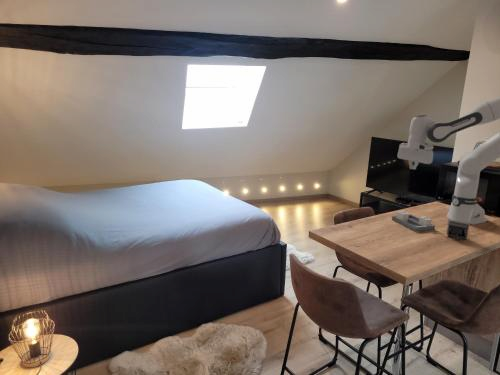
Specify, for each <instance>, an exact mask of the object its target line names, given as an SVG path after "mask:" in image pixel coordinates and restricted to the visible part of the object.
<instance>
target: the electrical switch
mask: <svg viewBox="0 0 500 375" xmlns="http://www.w3.org/2000/svg"><path fill="white" fill-rule="evenodd" d="M470 225H471V224H469V223H466V222H461V221H455V220H450V219H449V220H448V222H447V228H446V234H445V235H446V236H447V238H451V239H454V240H455V239H456V240H461V241H466V240H467V239H468V233H469V231H470V230H469V229H470Z"/></svg>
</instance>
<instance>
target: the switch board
mask: <svg viewBox="0 0 500 375" xmlns="http://www.w3.org/2000/svg"><path fill="white" fill-rule="evenodd" d="M408 214H409V217H408V221H407V222H405V221H403V220H401V219H399V218H397V214H396V215H392V216H391V220H392V221H393V222H395V223H397V224H399V225H400V226H403V227H404V228H406V229H409V230H410V231H413V232H414V233H417V232H426V231H435V228H436V225H435V224H432V223H431V225H428V226H424V225H422V224H420V223H419V217H417V216H416V215H413V214H411V213H408Z"/></svg>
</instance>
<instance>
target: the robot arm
mask: <svg viewBox="0 0 500 375" xmlns="http://www.w3.org/2000/svg"><path fill="white" fill-rule="evenodd" d="M497 120H500V96H498V97H495V98H492V99H488V100H485V101H483V102H480V103H478V104H477V105H474V106H473V107H471V108H470V110H469V111H468V113H466V114H465V115H462V116H461V117H458V118H456V119H453V120H451V121H449V122H440V121H436V120H434V119H433V118H431V117H429V115H427V114H423V115H420V114H419V115H415V116H413V118H412V119H411V122H410V126H409V136H408V139H407V140H408V141H407V142H406V143H405V142H402V143H400V144H399V146H398V152H397V158H398V159H400V160H405V161H408V166H409V169H410V170H416V169H417V167H418V165H419V163H420V164H421V163H422V164H426V165H430V164H432V163H433V160H434V151H433V149H434V145H432V144H431V143H428V142H427V141H426V140H427V139H429V140H430V141H431V142H432V143H442V142H444V141H446V140H447V139H449V137H451V136H452V135H453V134H456V133H458V132H461V131H464V130H466V129H468V128H469V129H470V128H471V127H476V126H482V125H485V124H489V123H492V122H495V121H497ZM499 158H500V131H499V132H497V133H496V134H494V135H493V136H492V137H490V138H488V139H487V140H485V141H484V142H482V143H481V144H480V145H479V146H477V147H476V148H475V149H473V150H472V151H468V152H465V153H463V154H462V155H461V156H460V158H459V162H458V167H457V168H458V169H457V174H456V181H455V187H454V192H453V194H452V196H451V197H452V198H451V204H450V207H449V210H448V212H447V214H446V218H447V219H449V220H455V221H461V222H466V223H469V224H470V225H474V226H475V225H479V224H483V223H487V222H486V221H488V222H490V219H489V218H488V217H486V216H485V215H486V212H485V209H484V208H483V207H482V206H481V205H480V204H479V203H478V202H482V198H481V197H477V194H478V189H479V188H478V187H479V184H480V183H479V182H480V176H481V174H480V173H481V171H482V170H484V169H486V167H489V165H491V164H492V163H493V162H495V161H496V160H497V159H499ZM413 163H414V165H413Z"/></svg>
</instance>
